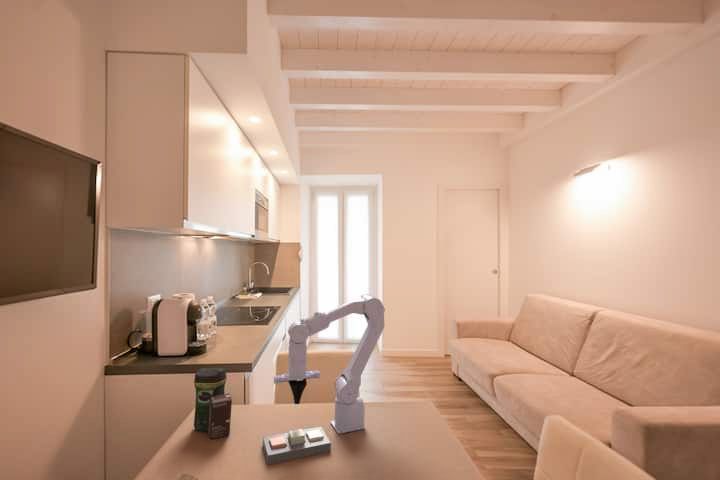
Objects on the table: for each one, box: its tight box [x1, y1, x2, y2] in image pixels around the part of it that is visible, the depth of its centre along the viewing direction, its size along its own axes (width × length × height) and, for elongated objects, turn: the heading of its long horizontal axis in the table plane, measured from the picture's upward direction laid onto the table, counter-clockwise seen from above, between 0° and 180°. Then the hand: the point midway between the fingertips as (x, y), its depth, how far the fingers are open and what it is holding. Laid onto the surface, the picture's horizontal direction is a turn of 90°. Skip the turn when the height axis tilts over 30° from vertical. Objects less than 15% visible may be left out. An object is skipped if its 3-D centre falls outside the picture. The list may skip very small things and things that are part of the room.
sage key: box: [288, 428, 305, 446], centre depth 109 cm, size 4×4×3 cm
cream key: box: [306, 430, 323, 442], centre depth 111 cm, size 4×4×3 cm
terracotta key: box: [270, 436, 286, 449], centre depth 107 cm, size 4×4×3 cm
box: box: [207, 393, 233, 440], centre depth 115 cm, size 6×4×12 cm
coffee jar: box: [193, 367, 227, 432], centre depth 121 cm, size 10×8×19 cm
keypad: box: [262, 426, 332, 465], centre depth 109 cm, size 18×10×2 cm, turn 112°
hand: (296, 402), depth 118 cm, fingers closed
